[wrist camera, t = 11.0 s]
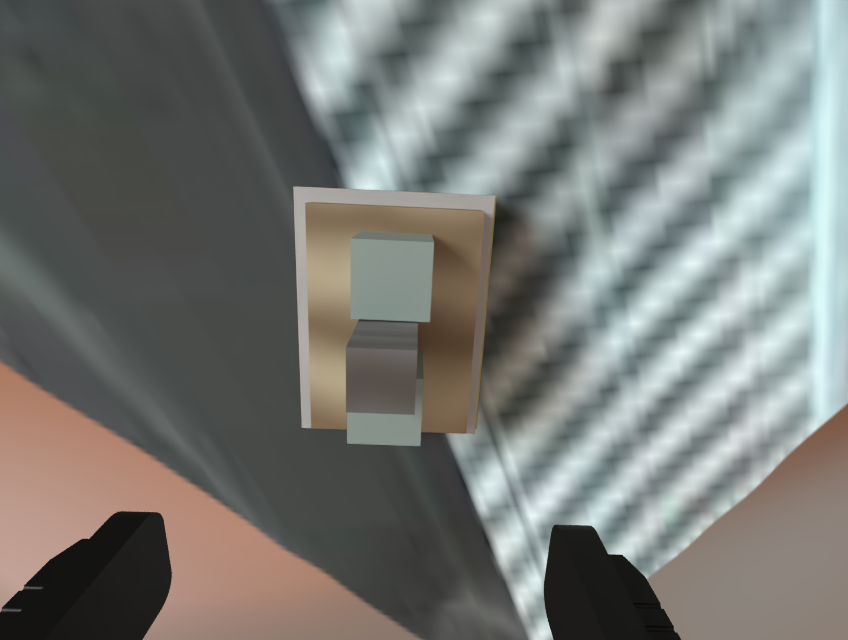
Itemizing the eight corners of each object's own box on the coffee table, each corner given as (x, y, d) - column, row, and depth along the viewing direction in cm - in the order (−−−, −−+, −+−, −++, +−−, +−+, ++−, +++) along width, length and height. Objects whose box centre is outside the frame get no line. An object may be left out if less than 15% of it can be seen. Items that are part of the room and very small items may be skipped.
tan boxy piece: (313, 201, 27) (253, 208, 17) (479, 209, 27) (514, 220, 17) (317, 412, 30) (271, 515, 21) (463, 418, 31) (483, 522, 21)
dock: (488, 195, 30) (498, 196, 27) (470, 409, 35) (477, 436, 31) (309, 187, 30) (293, 186, 26) (315, 403, 35) (302, 430, 31)
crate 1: (361, 231, 25) (350, 238, 21) (431, 234, 25) (434, 242, 21) (360, 300, 26) (350, 318, 22) (428, 302, 26) (429, 322, 22)
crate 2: (357, 349, 27) (347, 376, 23) (422, 352, 27) (423, 379, 23) (357, 409, 28) (347, 443, 24) (419, 411, 28) (420, 445, 24)
